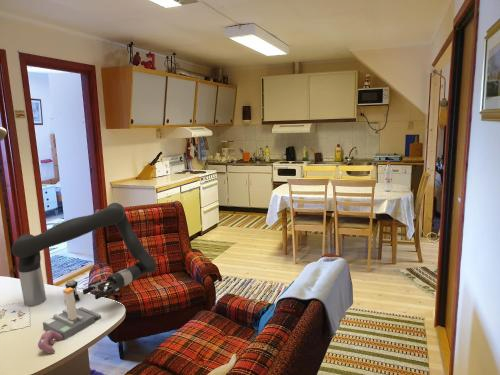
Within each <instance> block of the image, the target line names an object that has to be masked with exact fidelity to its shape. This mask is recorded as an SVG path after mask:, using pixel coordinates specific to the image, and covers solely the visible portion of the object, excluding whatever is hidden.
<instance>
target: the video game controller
mask: <svg viewBox="0 0 500 375" xmlns="http://www.w3.org/2000/svg"><path fill="white" fill-rule="evenodd" d="M55 340H57V341H62V340H64V339H63V336H62V335H61V334H59V333H57V332H55V331H53V330H52V331H51V330H50V331H47V330H46V331H45V332H44V333H43V334H42V335H41V336H40V338H39V341H38V342H37V347H38V349H39V350H41V351H43V352H45V353H48V354H55V352H56V351H55V348H54V347H53V346H52V345H54V343H55Z"/></svg>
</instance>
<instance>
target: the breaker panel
mask: <svg viewBox="0 0 500 375" xmlns="http://www.w3.org/2000/svg"><path fill="white" fill-rule="evenodd" d="M76 312H77V321H76V322H73V321H71V320H69V319H68V314H67V308H66V309H63V310H62V312H61V313H59V314H58V313H55V314H53V315H52V316H53V317H51V318H49V319H47V320H45V321H43V322H42V328H43V330H44V331H46V332H47V331H50V330H51V331H52V330H53V331H55V332H57V333H59V334H61V335H62V336H63V339H62V340H64V341H65V340H67V339H68V338H70V337H72V336H73V335H75V334H77V333H79V332H81V331H83V330H84V329H86V328H88V327H89V326H91V325H93V324H95V323H96V321H95V318H94V316H93V315H90V314H88V313H86V312H83V311H81V310H79V308H76Z"/></svg>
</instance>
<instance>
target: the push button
mask: <svg viewBox="0 0 500 375" xmlns="http://www.w3.org/2000/svg"><path fill="white" fill-rule="evenodd" d="M64 287H65V289H67V288H69V287H70V288H73V289H74V299H75V302H79V301H80V295H79V293H78V291H77V287H78V281H76V280H75V279H70V280H68V281H67V282H66V283H65V285H64ZM64 303H65V304H66V301H65V299H64Z"/></svg>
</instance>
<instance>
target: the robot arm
mask: <svg viewBox="0 0 500 375" xmlns="http://www.w3.org/2000/svg"><path fill="white" fill-rule="evenodd" d="M112 225H115V227H116V228H117V230H118V231H119V234H120V235H121V238H122V240H123V243H124V245H125V247H126V249H127V250H128V252H129V254H130V256H131V257H132V258H133V260H137V262H136V263H134V264H133V265H131V266H128V267H126V268H125V269H121V270H118V271H117V272H115V273H113V274H110V275H108V276H107V278H106V280H103V281H102V279H97V280H95V281H93V282H91V283H89V284H88V286H87V287H86V288H84V289H83V290H82V294H83V295H87V294H89V293H91V292H94V291H96V292H98V293H95V294H94V299H95V300H99V299H101V298H103V297H106V296H107V297H111V296H113V295H115V294H116V293H118V292H119V291H120V290H121V289H122V288H124V287H126V286H128V285H129V284H131V283H133V282H135V281H137V280H138V279H140V277H141V276H143V275H146V274H147V275H148V274H152V273H154V272H155V271H156V270H157V262H156V260H155V259H154V257H153V256H152V255H151V253H149V252H148V251H147V250H146V248H145V247H144V246H143V244H142V242H141V240H140V239H139V237H138V236H137V234H136V232H135V230H134V229H133V227H132V225H131V223H130V221H129V219H128V216H127V214H126V209H125V208H124V206H123V205H122V204H121V203H118V202H112V203H110V204H109V205H107V207H105V208H104V209H102V210H99V211H97V212H95V213H92V214H89V215H83V216H79V217H73V218H71V219H68V220H67V219H66V220H65V221H63V222H61V223H57V224H56V225H54V226H52V227H51V228H49V229H47V230H45V231H44V232H42V233H40V234H36V235H33V234H30V233H25V234H22V235H20V236H19V237H18V238H17V239H16V240H15V241H14V243H12V246H11V252H12V255H13V256H14V257H16V258H18V263H17V270H18V271H17V272H18V277H19V282H20V288H21V292H22V298H23V304H24V306H26V307H34V306H38V305H41V304H43V303H44V302H46V300H47V295H46V289H45V284H44V278H43V271H42V264H41V257H42V256H41V251H43V250H46V249H48V248H51V247H55V246H57V245H61V244H63V243H65V242H69V241H71V240H72V241H73V240H74V239H76V238H80V237H81V236H85V235H87V234H89V233H91V232H93V231H96V230H97V229H101V228H105V227H108V226H112Z"/></svg>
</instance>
